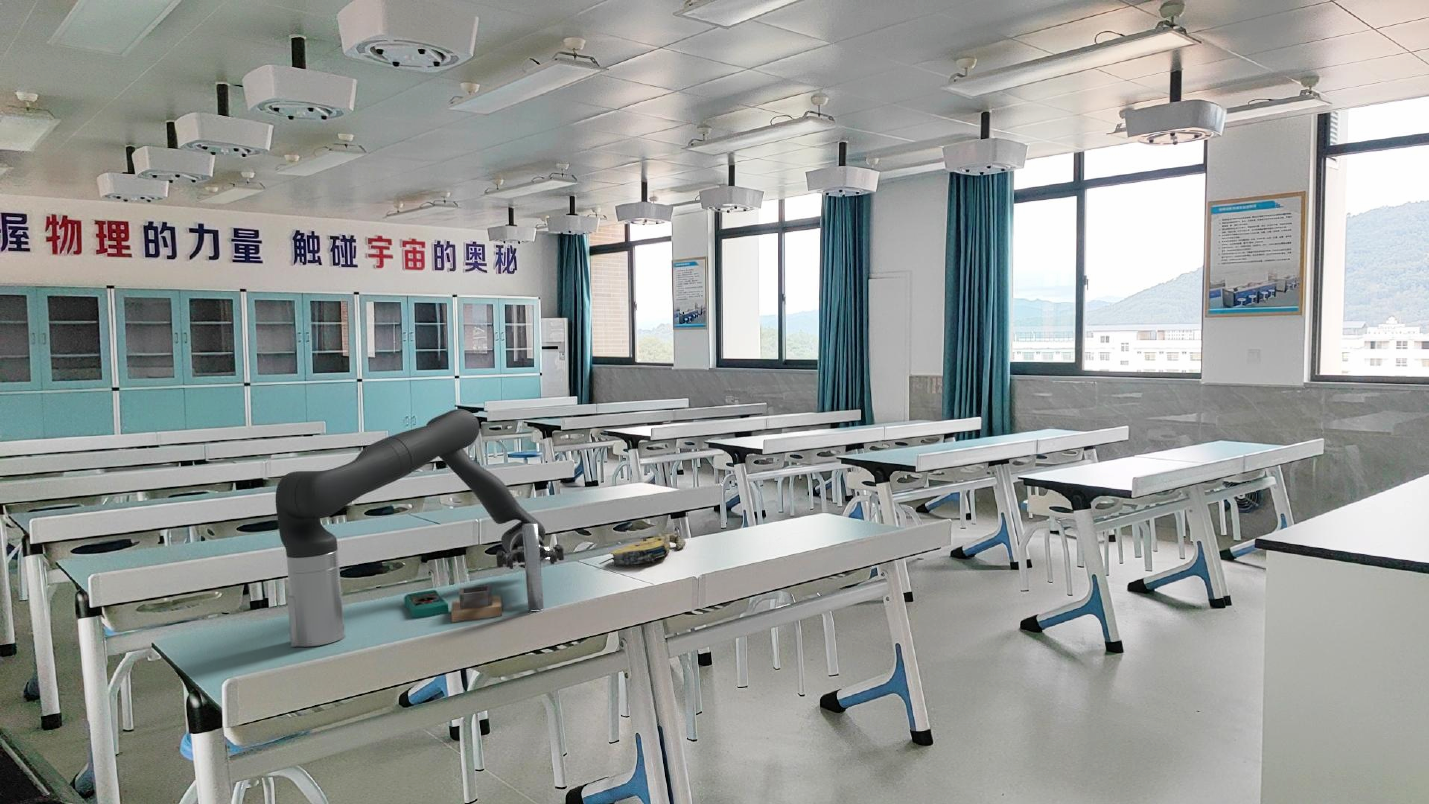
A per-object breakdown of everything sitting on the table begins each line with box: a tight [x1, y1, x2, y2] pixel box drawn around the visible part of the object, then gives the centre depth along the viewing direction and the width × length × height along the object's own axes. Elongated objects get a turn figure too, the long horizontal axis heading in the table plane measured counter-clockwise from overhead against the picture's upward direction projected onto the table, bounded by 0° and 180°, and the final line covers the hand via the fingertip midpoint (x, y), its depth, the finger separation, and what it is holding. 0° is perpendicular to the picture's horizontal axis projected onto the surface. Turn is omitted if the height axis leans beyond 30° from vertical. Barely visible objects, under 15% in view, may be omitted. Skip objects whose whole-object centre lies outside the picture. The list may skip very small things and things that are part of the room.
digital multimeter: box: [403, 589, 450, 619], centre depth 204 cm, size 7×15×3 cm, turn 26°
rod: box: [522, 523, 545, 612], centre depth 196 cm, size 3×3×18 cm
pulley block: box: [598, 531, 687, 567], centre depth 243 cm, size 14×6×30 cm
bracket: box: [450, 584, 503, 623], centre depth 197 cm, size 10×10×5 cm
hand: (532, 561), depth 197 cm, fingers open, 8 cm apart
